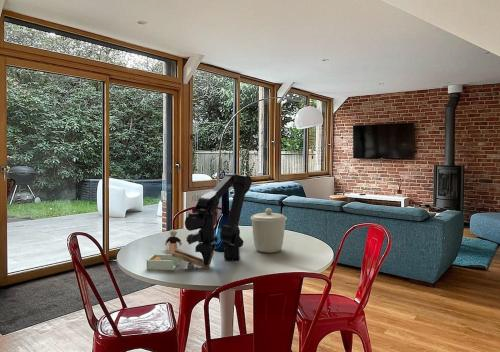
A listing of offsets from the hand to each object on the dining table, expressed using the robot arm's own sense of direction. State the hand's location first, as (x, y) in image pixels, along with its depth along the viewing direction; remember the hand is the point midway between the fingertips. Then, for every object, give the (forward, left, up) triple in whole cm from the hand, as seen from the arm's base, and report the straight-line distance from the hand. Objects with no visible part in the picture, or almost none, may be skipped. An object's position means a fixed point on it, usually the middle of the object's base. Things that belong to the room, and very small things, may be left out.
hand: (207, 263), depth 157 cm
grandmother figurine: (+19, -16, -2) cm, 25 cm away
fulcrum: (+7, 0, -2) cm, 7 cm away
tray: (+19, 0, -2) cm, 19 cm away
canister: (-25, -30, -2) cm, 39 cm away
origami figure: (+23, -28, -2) cm, 36 cm away
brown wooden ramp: (+7, 0, +1) cm, 7 cm away
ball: (+22, 0, 0) cm, 22 cm away
